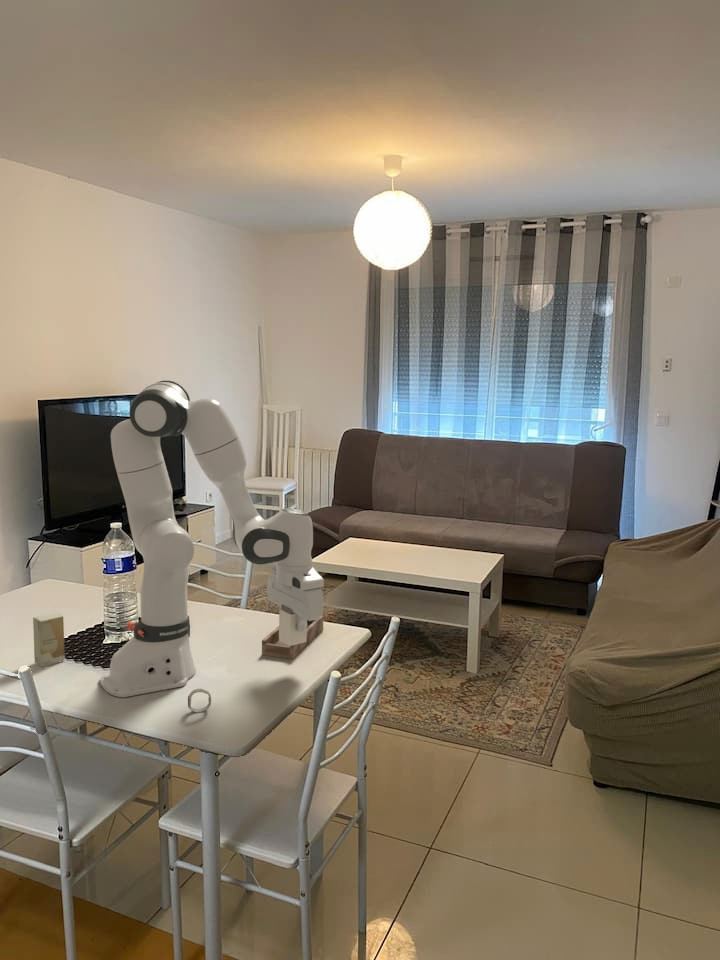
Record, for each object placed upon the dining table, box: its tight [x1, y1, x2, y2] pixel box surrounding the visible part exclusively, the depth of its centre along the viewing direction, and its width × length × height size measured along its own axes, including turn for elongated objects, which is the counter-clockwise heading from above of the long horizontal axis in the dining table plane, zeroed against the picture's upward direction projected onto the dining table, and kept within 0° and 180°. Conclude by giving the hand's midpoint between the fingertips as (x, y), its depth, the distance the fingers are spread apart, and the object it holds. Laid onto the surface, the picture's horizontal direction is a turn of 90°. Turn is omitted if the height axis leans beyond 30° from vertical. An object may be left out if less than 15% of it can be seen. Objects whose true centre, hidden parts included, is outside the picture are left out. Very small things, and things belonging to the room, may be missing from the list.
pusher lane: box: [261, 615, 324, 660], centre depth 199 cm, size 23×9×6 cm, turn 163°
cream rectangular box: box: [278, 605, 307, 646], centre depth 180 cm, size 5×5×9 cm
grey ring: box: [187, 688, 212, 714], centre depth 159 cm, size 3×5×5 cm, turn 108°
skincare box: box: [32, 611, 66, 668], centre depth 183 cm, size 6×4×12 cm
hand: (292, 627), depth 180 cm, fingers closed on cream rectangular box, 5 cm apart
